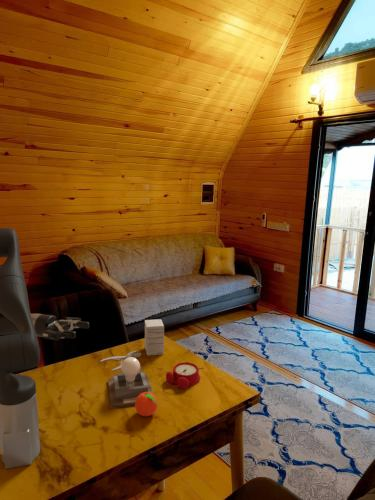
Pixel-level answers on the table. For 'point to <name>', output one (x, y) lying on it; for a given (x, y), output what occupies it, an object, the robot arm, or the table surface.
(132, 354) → the pliers
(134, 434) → the table surface
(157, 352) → the supplement box
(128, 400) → the socket stand
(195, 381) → the alarm clock
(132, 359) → the lightbulb
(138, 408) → the clementine
